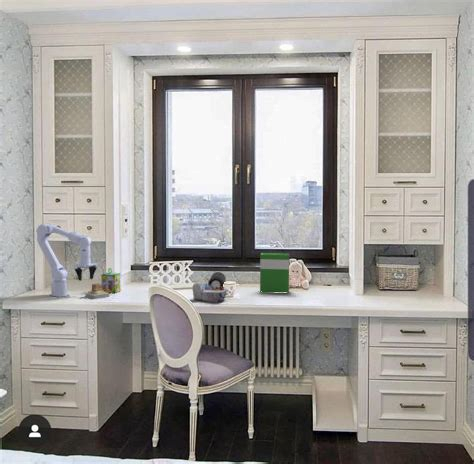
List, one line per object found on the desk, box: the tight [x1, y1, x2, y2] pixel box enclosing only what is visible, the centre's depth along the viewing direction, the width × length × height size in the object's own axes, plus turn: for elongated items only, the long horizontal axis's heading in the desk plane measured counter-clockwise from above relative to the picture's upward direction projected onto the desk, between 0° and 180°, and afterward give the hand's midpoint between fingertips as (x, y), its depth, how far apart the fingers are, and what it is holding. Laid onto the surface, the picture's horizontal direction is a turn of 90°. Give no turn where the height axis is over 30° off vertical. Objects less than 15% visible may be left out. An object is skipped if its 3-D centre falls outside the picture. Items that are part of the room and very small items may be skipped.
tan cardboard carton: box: [89, 283, 104, 295], centre depth 346 cm, size 7×5×6 cm
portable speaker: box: [207, 271, 227, 289], centre depth 373 cm, size 26×10×10 cm, turn 178°
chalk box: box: [100, 267, 122, 294], centre depth 362 cm, size 9×9×15 cm
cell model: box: [192, 281, 229, 303], centre depth 338 cm, size 13×11×20 cm
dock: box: [85, 292, 110, 300], centre depth 346 cm, size 10×10×2 cm
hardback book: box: [259, 252, 290, 293], centre depth 365 cm, size 18×7×24 cm, turn 83°
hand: (85, 279), depth 347 cm, fingers open, 7 cm apart
